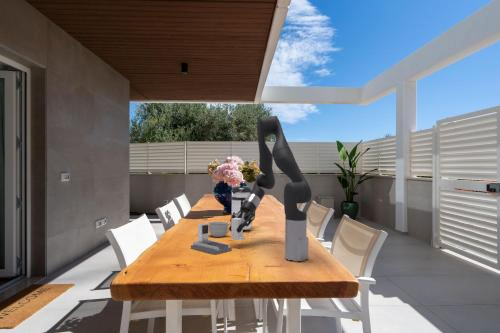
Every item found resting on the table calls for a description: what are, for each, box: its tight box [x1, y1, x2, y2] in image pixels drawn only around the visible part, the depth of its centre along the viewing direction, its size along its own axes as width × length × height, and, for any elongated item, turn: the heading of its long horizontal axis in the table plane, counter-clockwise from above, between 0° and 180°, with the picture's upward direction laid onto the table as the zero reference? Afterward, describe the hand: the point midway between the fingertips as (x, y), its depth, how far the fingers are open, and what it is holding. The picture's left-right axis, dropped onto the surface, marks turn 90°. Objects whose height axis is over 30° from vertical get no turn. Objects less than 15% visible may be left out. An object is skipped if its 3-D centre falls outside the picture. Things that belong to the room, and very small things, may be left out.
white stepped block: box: [230, 218, 246, 241], centre depth 173 cm, size 6×4×10 cm, turn 48°
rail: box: [190, 222, 233, 256], centre depth 168 cm, size 17×11×12 cm, turn 48°
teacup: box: [208, 221, 231, 238], centre depth 199 cm, size 14×11×8 cm
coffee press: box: [230, 181, 256, 232], centre depth 218 cm, size 17×16×30 cm
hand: (234, 230), depth 173 cm, fingers closed on white stepped block, 4 cm apart
